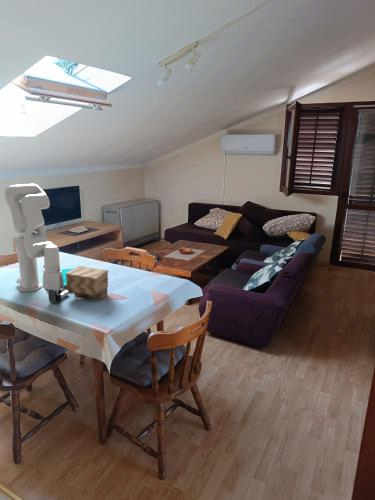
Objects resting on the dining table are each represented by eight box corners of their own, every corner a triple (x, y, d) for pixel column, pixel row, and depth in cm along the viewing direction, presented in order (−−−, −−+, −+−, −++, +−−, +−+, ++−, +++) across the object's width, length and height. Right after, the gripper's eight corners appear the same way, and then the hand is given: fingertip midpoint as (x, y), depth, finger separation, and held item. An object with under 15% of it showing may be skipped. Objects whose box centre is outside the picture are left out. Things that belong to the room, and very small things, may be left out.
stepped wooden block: (67, 298, 200) (65, 273, 195) (80, 289, 212) (79, 266, 207) (96, 304, 195) (95, 278, 190) (108, 294, 207) (108, 270, 202)
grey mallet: (49, 302, 193) (48, 290, 191) (64, 293, 205) (63, 281, 203) (55, 303, 192) (54, 291, 190) (70, 294, 204) (69, 282, 202)
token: (73, 300, 199) (73, 297, 198) (78, 296, 204) (78, 294, 203) (81, 301, 198) (81, 298, 197) (86, 298, 202) (86, 295, 202)
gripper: (34, 268, 188) (37, 300, 193) (61, 273, 183) (64, 305, 188) (43, 264, 195) (46, 295, 200) (70, 268, 190) (72, 300, 195)
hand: (55, 300), depth 194 cm, fingers closed on grey mallet, 4 cm apart
